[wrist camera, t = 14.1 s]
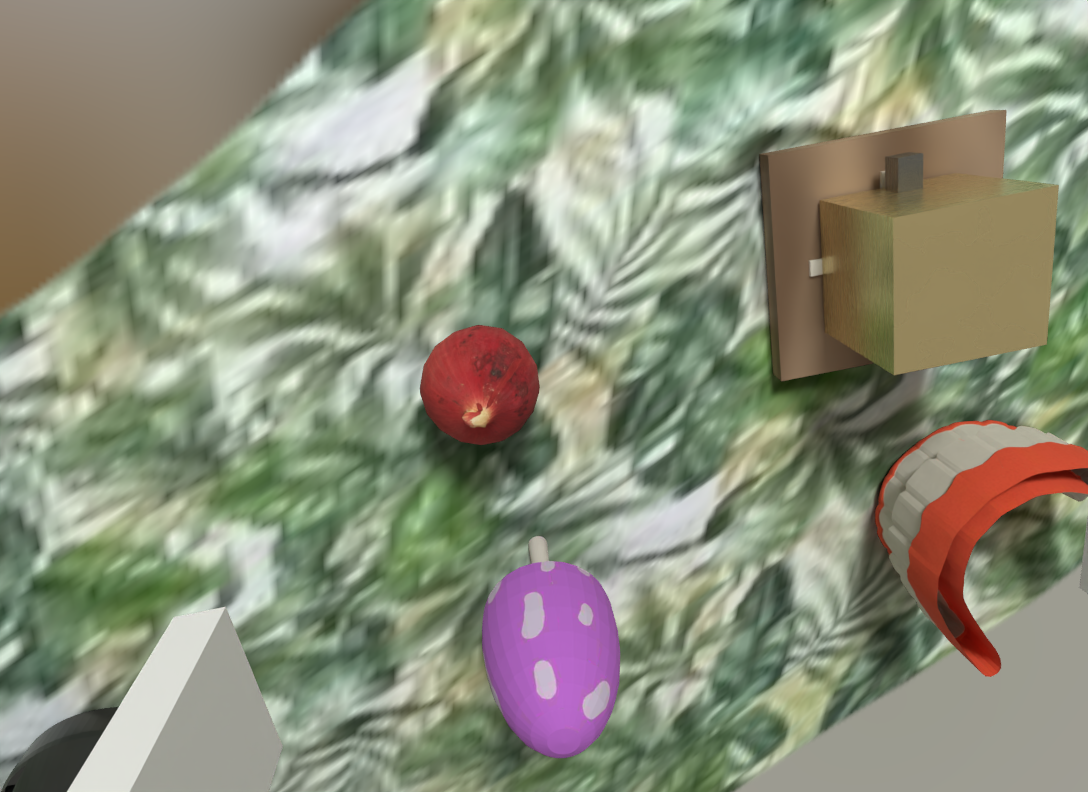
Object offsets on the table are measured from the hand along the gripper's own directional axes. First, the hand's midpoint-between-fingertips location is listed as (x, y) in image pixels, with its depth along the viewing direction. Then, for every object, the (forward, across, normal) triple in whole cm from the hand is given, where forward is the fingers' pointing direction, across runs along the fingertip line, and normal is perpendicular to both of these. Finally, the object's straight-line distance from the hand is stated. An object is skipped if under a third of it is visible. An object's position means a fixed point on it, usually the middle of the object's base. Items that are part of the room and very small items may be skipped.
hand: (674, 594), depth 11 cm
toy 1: (+29, -3, -17) cm, 34 cm away
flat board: (+29, +18, -3) cm, 34 cm away
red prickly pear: (+29, -4, -5) cm, 30 cm away
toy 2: (+29, +22, -18) cm, 41 cm away
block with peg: (+27, +18, -3) cm, 33 cm away
